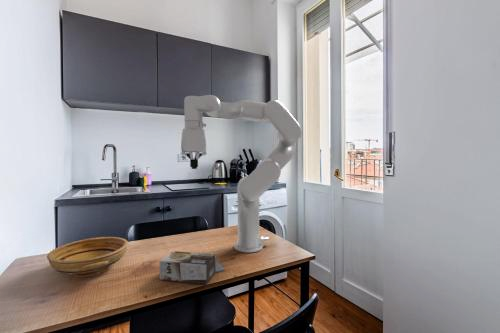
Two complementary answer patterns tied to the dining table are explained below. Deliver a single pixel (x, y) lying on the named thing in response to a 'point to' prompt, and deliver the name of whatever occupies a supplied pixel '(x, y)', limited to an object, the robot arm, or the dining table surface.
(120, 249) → the brown oval basket
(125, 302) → the dining table surface
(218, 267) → the grey mat
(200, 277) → the coffee box
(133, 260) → the dining table surface
